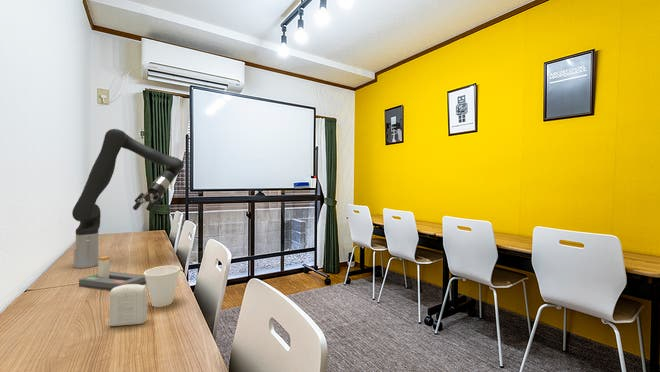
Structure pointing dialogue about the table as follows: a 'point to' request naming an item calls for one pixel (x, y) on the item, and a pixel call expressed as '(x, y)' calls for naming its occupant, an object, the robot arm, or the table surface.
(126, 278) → the slotted lever switch base
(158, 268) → the cup
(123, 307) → the photo printer
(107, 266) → the handle
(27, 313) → the table surface
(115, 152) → the robot arm
